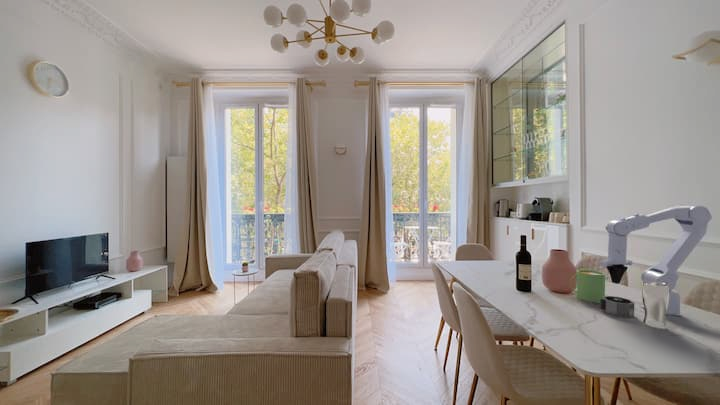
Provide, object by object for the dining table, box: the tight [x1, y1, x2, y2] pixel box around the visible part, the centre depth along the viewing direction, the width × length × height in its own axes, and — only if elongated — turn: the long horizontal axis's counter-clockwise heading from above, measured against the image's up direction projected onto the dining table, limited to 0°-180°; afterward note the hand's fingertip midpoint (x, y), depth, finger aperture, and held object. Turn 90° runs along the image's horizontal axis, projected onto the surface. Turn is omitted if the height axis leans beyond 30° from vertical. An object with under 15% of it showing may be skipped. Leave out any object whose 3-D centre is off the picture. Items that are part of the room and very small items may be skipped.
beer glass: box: [641, 281, 669, 330], centre depth 108 cm, size 7×7×15 cm
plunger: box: [613, 298, 623, 303], centre depth 120 cm, size 7×7×5 cm
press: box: [599, 295, 635, 319], centre depth 120 cm, size 10×9×5 cm
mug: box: [569, 268, 606, 304], centre depth 138 cm, size 13×10×12 cm
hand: (615, 283), depth 125 cm, fingers closed
